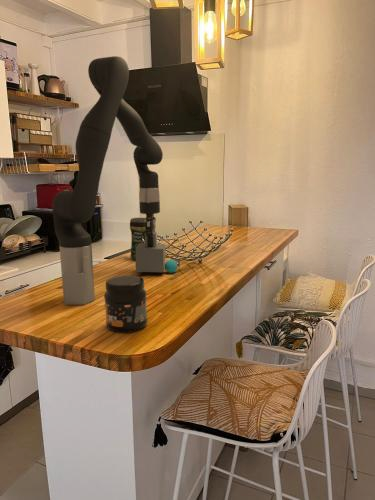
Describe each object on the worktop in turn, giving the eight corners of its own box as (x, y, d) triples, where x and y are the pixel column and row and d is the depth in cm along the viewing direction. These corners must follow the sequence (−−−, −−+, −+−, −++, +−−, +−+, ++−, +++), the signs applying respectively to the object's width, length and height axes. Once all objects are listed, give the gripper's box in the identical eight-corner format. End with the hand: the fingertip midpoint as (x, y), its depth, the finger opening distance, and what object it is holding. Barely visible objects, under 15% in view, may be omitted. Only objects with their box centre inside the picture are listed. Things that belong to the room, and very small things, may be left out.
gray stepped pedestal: (163, 272, 147) (163, 235, 144) (135, 271, 147) (135, 235, 144) (164, 265, 157) (165, 231, 154) (139, 264, 157) (139, 230, 154)
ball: (161, 270, 149) (173, 276, 149) (167, 259, 148) (179, 265, 148) (163, 267, 154) (174, 272, 154) (169, 256, 152) (180, 262, 153)
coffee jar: (128, 260, 173) (126, 218, 169) (138, 256, 180) (136, 216, 176) (146, 262, 169) (145, 219, 165) (156, 258, 176) (155, 217, 172)
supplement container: (97, 325, 101) (95, 280, 98) (131, 315, 108) (129, 272, 106) (122, 337, 93) (119, 289, 91) (156, 325, 101) (154, 280, 98)
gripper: (141, 199, 153) (143, 242, 157) (136, 202, 139) (138, 249, 143) (161, 198, 153) (162, 242, 157) (158, 201, 139) (159, 249, 143)
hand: (151, 245), depth 150 cm, fingers closed on gray stepped pedestal, 4 cm apart
